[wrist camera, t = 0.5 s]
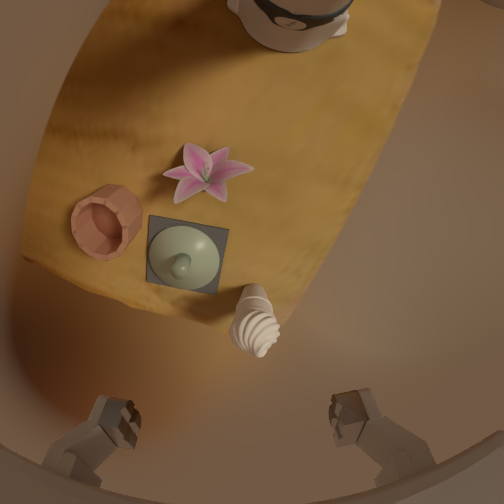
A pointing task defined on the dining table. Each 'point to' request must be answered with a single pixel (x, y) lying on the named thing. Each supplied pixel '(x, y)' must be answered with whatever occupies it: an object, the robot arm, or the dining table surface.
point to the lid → (184, 257)
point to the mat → (213, 232)
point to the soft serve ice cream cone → (254, 322)
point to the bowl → (106, 221)
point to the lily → (205, 172)
